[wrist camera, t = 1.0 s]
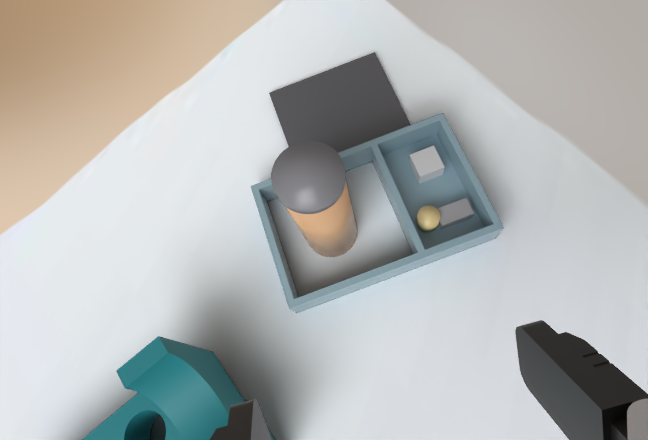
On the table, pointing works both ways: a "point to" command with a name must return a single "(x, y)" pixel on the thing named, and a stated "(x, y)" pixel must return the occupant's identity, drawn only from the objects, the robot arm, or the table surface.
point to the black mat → (340, 106)
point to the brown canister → (316, 196)
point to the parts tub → (405, 204)
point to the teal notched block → (172, 394)
